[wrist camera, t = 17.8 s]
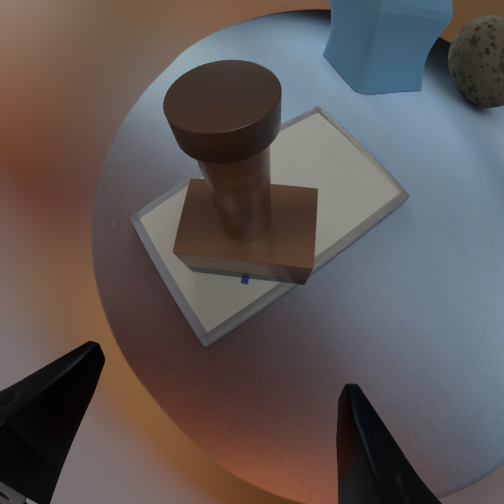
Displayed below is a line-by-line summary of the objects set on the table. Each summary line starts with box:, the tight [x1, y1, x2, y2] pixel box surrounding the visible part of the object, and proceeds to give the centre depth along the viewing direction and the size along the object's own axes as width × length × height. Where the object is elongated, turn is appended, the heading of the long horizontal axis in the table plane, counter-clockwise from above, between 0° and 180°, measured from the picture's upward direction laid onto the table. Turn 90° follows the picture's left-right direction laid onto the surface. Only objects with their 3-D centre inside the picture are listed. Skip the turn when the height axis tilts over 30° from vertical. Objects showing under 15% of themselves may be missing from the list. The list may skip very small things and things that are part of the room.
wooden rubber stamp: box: [163, 60, 318, 285], centre depth 14 cm, size 5×8×14 cm, turn 82°
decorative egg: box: [448, 15, 504, 108], centre depth 20 cm, size 11×11×15 cm
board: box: [130, 106, 409, 347], centre depth 22 cm, size 20×12×1 cm, turn 125°
